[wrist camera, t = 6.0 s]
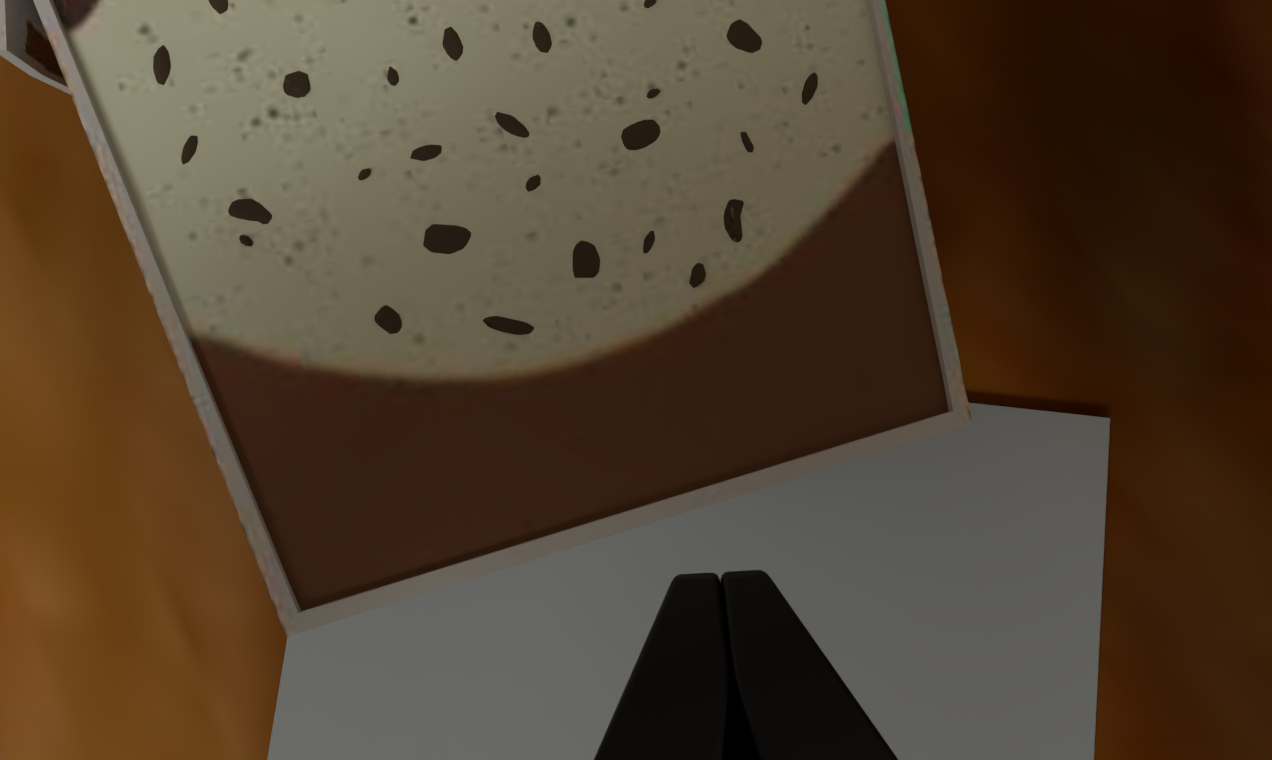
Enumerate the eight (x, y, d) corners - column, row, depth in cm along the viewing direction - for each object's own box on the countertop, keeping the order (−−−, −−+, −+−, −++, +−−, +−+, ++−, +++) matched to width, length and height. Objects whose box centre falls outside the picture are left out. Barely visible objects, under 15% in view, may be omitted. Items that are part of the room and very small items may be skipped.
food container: (897, 415, 20) (751, -58, 21) (1069, 392, 14) (858, -278, 15) (273, 607, 18) (128, 80, 19) (162, 675, 12) (-50, -105, 13)
